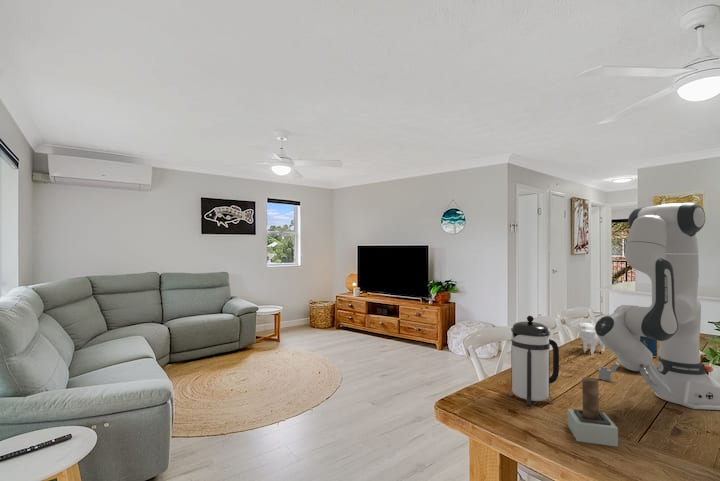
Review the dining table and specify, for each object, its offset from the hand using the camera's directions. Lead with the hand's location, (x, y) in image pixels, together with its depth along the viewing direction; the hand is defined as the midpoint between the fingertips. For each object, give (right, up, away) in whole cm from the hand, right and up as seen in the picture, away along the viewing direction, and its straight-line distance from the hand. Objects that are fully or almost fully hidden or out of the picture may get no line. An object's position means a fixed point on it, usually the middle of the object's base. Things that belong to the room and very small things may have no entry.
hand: (663, 383), depth 126 cm
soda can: (+45, -11, +65) cm, 80 cm away
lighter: (+1, -10, +29) cm, 30 cm away
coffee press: (-40, -9, +9) cm, 42 cm away
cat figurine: (+20, -11, +71) cm, 74 cm away
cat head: (+21, -11, +42) cm, 48 cm away
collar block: (-35, -8, -17) cm, 40 cm away
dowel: (-35, -8, -17) cm, 40 cm away
